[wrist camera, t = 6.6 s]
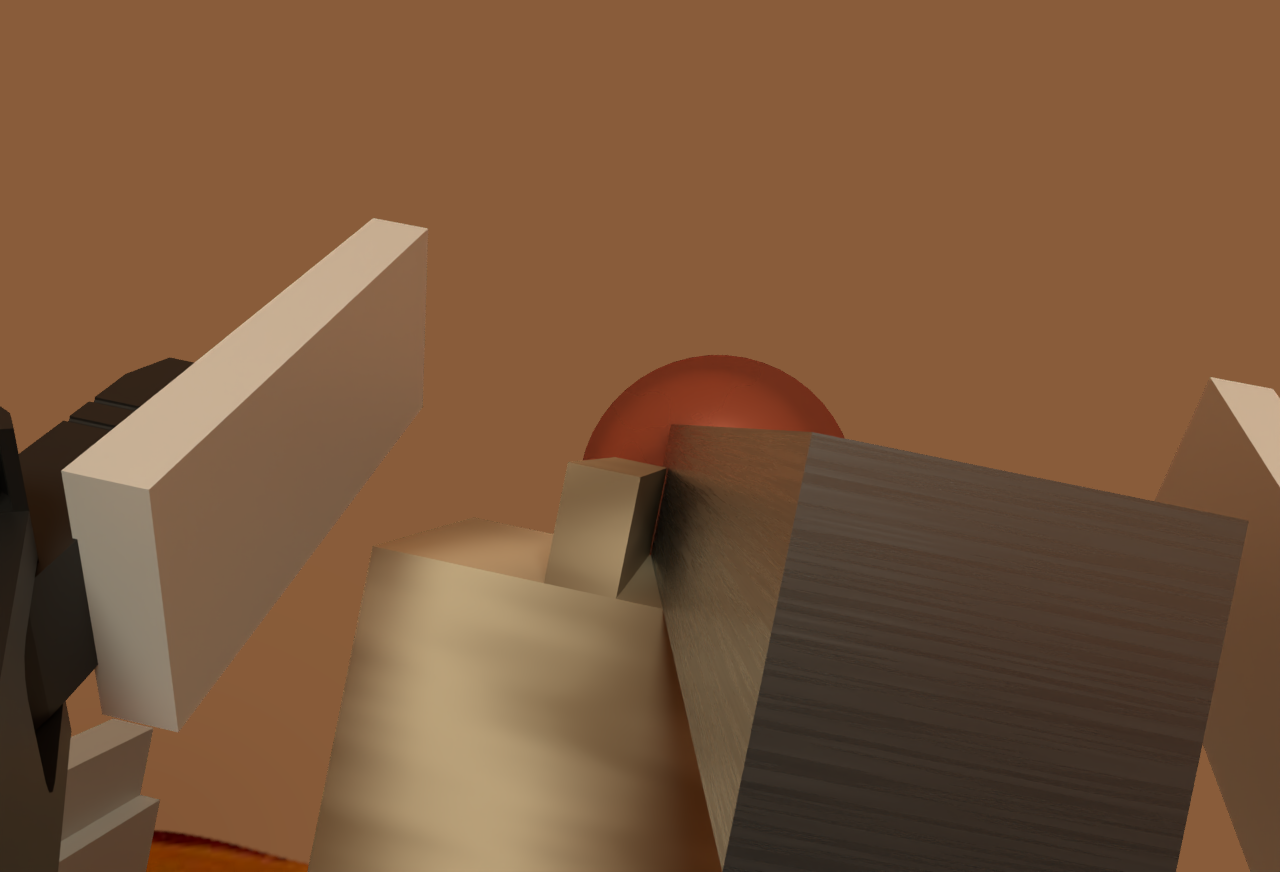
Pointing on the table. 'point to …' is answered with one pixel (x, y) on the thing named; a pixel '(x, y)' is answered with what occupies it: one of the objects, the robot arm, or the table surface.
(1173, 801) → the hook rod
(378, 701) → the beige patterned tall block
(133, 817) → the tall grey block
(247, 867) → the table surface
